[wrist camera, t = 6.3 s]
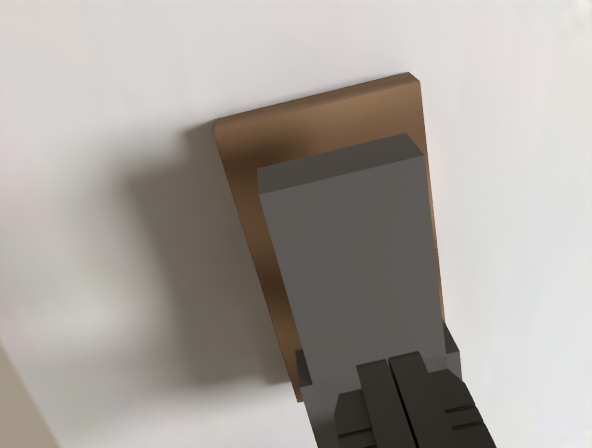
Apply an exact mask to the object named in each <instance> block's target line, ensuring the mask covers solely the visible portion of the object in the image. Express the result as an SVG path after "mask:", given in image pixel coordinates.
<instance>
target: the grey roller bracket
mask: <svg viewBox="0 0 592 448" xmlns="http://www.w3.org/2000/svg"><path fill="white" fill-rule="evenodd" d="M257 178H258V193H259V198H260V202H261V205H262V209H263V212H264V216H265V219H266V223H267V226H268V230H269V233H270V237H271V240H272V244H273V247H274V250H275V254H276V257H277V261H278V264H279V268H280V271H281V275H282V278H283V282H284V285H285V289H286V292H287V296H288V299H289V303H290V306H291V310H292V313H293V317H294V320H295V324H296V327H297V331H298V334H299V338H300V341H301V345H302V348H303V349H299V350H295V355H296V363H297V371H298V378H299V386H300V390H301V394H302V397H303V400H304V404H305V407H306V410H307V413H308V417H309V420H310V423H311V427H312V430H313V433H314V436H315V440H316V443H317V446H318V448H340V444H339V438H338V434H337V428H336V423H335V418H334V411H335V408H336V404H337V400H338V396H339V394H341V393H345V392H349V391H354V390H358V389H361V388H360V383H359V379H358V375H357V370H356V365H360V364H364V363H369V362H373V361H377V360H381V359H386V360H387V363H388V358H389V357H394V356H398V355H402V354H406V353H411V352H415V351H419V352H420V354H421V356H422V359H423V361H424V363H425V366H426V368H427V370H428V373H430V372H434V371H439V370H443V369H447V368H448V369H449V370H450V371H451V372H452V373H454V374H455V375H456V376H457V377H458V378H459V379H461V380H462V373H461V362H460V351H459V349H458V347H457V345H456V343H455V341H454V340H453V338H452V336H451V334H450V332H449V330H448V328H447V326H446V324H445V322H444V320H443V318H442V312H441V302H440V293H439V284H438V275H437V265H436V256H435V247H434V238H433V228H432V219H431V210H430V201H429V191H428V182H427V173H426V164H425V155H424V154H423V153H422V151H421V150H420V149H419V148H418V146H417V145H416V144H415V143H414V142H413V140H412V139H411V138H410V137H409V135H408V134H407V133H402V134H398V135H394V136H390V137H386V138H382V139H378V140H373V141H369V142H365V143H361V144H357V145H353V146H349V147H344V148H340V149H336V150H332V151H328V152H324V153H320V154H315V155H311V156H307V157H303V158H299V159H295V160H291V161H287V162H282V163H278V164H274V165H270V166H266V167H262V168H258V169H257ZM388 366H389V364H388Z"/></svg>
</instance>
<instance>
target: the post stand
mask: <svg viewBox="0 0 592 448" xmlns="http://www.w3.org/2000/svg"><path fill="white" fill-rule="evenodd" d="M402 133H407V134H408V135H409V137H410V138H411V139H412V140H413V142H414V143H415V144H416V145H417V146H418V148H419V149H420V150H421V151H422V153H423V154H424V155H425V164H426V173H427V182H428V191H429V201H430V210H431V219H432V228H433V238H434V247H435V256H436V265H437V275H438V284H439V293H440V302H441V312H442V318H443V320H444V322H445V315H444V306H443V296H442V287H441V277H440V268H439V258H438V249H437V239H436V230H435V220H434V211H433V201H432V192H431V182H430V173H429V163H428V154H427V144H426V134H425V125H424V115H423V106H422V96H421V87H420V81H419V80H418V79H417V78H415V77H414V76H413V75H412V74H411V73H409V72H407V73H403V74H399V75H395V76H391V77H387V78H383V79H379V80H374V81H370V82H366V83H362V84H358V85H354V86H350V87H346V88H342V89H338V90H334V91H330V92H325V93H321V94H317V95H313V96H309V97H305V98H301V99H297V100H293V101H289V102H285V103H281V104H276V105H272V106H268V107H264V108H260V109H256V110H252V111H248V112H244V113H240V114H236V115H232V116H227V117H223V118H219V119H215V121H214V128H213V134H214V137H215V140H216V143H217V147H218V150H219V153H220V156H221V159H222V163H223V166H224V169H225V172H226V175H227V178H228V182H229V185H230V188H231V191H232V194H233V198H234V201H235V204H236V207H237V210H238V214H239V217H240V220H241V223H242V226H243V230H244V233H245V236H246V239H247V242H248V246H249V249H250V252H251V255H252V258H253V261H254V265H255V268H256V271H257V274H258V277H259V281H260V284H261V287H262V290H263V293H264V297H265V300H266V303H267V306H268V309H269V313H270V316H271V319H272V322H273V325H274V329H275V332H276V335H277V338H278V341H279V345H280V348H281V351H282V354H283V357H284V360H285V364H286V367H287V370H288V373H289V376H290V380H291V383H292V386H293V389H294V392H295V396H296V399H297V402H298V403H299V402H303V401H304V400H303V397H302V394H301V390H300V386H299V378H298V371H297V363H296V355H295V350H299V349H303V348H302V345H301V341H300V338H299V334H298V331H297V327H296V324H295V320H294V317H293V313H292V310H291V306H290V303H289V299H288V296H287V292H286V289H285V285H284V282H283V278H282V275H281V271H280V268H279V264H278V261H277V257H276V254H275V250H274V247H273V244H272V240H271V237H270V233H269V230H268V226H267V223H266V219H265V216H264V212H263V209H262V205H261V202H260V198H259V193H258V178H257V169H258V168H262V167H266V166H270V165H274V164H278V163H282V162H287V161H291V160H295V159H299V158H303V157H307V156H311V155H315V154H320V153H324V152H328V151H332V150H336V149H340V148H344V147H349V146H353V145H357V144H361V143H365V142H369V141H373V140H378V139H382V138H386V137H390V136H394V135H398V134H402Z"/></svg>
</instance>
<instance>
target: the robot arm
mask: <svg viewBox="0 0 592 448" xmlns="http://www.w3.org/2000/svg"><path fill="white" fill-rule="evenodd" d="M388 364H389V366H388ZM356 370H357V375H358V379H359V383H360V388H361V389H358V390H354V391H349V392H345V393H341V394H339V396H338V400H337V404H336V408H335V411H334V418H335V423H336V428H337V434H338V438H339V444H340V448H497V447H496V445H495V443H494V441H493V439H492V437H491V435H490V433H489V431H488V429H487V427H486V425H485V424H484V422H483V419H482V417H481V415H480V413H479V411H478V409H477V407H476V406H475V403H474V400H473V398H472V396H471V394H470V392H469V390H468V388H467V386H466V384H465V383H464V382H463V381H462V380H461V379H459V378H458V377H457V376H456V375H455V374H454V373H452V372H451V371H450V370H449V369H448V368H447V369H443V370H439V371H434V372H430V373H428V370H427V368H426V366H425V363H424V361H423V359H422V356H421V354H420V352H419V351H415V352H411V353H406V354H402V355H398V356H394V357H389V358H388V363H387V360H386V359H381V360H377V361H373V362H369V363H364V364H360V365H356Z"/></svg>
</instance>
